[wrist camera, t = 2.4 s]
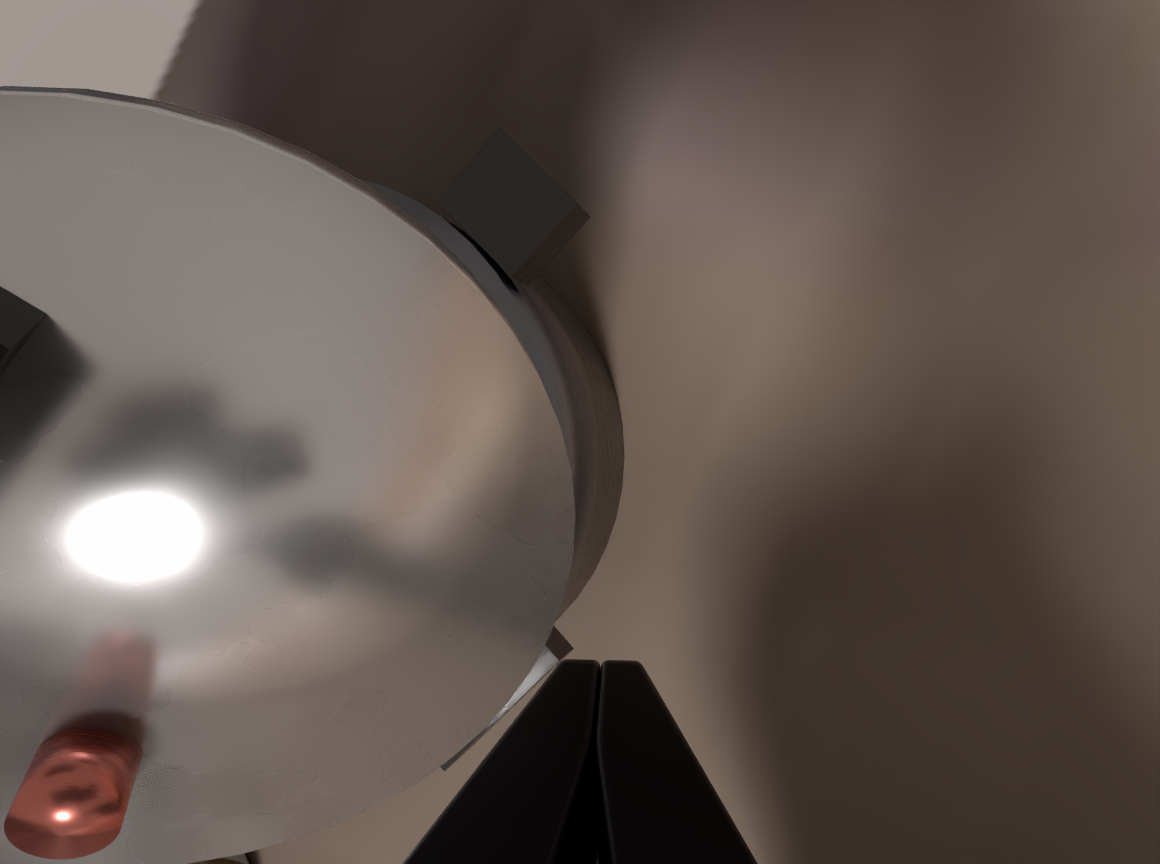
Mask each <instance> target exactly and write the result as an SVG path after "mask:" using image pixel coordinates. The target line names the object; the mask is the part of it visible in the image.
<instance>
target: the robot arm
mask: <svg viewBox="0 0 1160 864" xmlns="http://www.w3.org/2000/svg"><path fill="white" fill-rule="evenodd" d="M403 864H758V863H757V862H756V860H755V858H754V856H753V855H752V853H751V851H750V849H749V848H748V846H747V844H746V843H745V841H744V839H743V837H742V836H741V834H740V832H739V831H738V829H737V827H736V825H735V824H734V822H733V820H732V818H731V817H730V815H729V813H728V812H727V810H726V808H725V806H724V805H723V803H722V801H721V799H720V798H719V796H718V794H717V793H716V791H715V789H714V787H713V786H712V784H711V782H710V781H709V779H708V777H707V775H706V774H705V772H704V770H703V768H702V767H701V765H700V763H699V762H698V760H697V758H696V756H695V755H694V753H693V751H692V750H691V748H690V746H689V744H688V743H687V741H686V739H685V737H684V736H683V734H682V732H681V731H680V729H679V727H678V725H677V724H676V722H675V720H674V718H673V717H672V715H671V713H670V712H669V710H668V708H667V706H666V705H665V703H664V701H663V700H662V698H661V696H660V694H659V693H658V691H657V689H656V687H655V686H654V684H653V682H652V681H651V679H650V677H649V675H648V674H647V672H646V670H645V669H644V667H643V666H642V664H641V663H640V662H638V661H624V660H607V661H605V662H603V664H602V665H601V667H600V664H599V662H597V661H596V660H575V659H566V660H563V661H561V662H560V663H559V664H558V665H557V666H556V668H555V669H554V670H553V672H552V673H551V674H550V675H549V677H548V678H547V679H546V681H545V682H544V683H543V684H542V686H541V687H540V688H539V689H538V691H537V692H536V693H535V695H534V696H533V697H532V698H531V700H530V701H529V702H528V704H527V705H526V706H525V707H524V709H523V710H522V711H521V713H520V714H519V715H518V716H517V718H516V719H515V720H514V721H513V723H512V724H511V725H510V727H509V728H508V729H507V730H506V732H505V733H504V734H503V736H502V737H501V738H500V739H499V741H498V742H497V743H496V745H495V746H494V747H493V748H492V750H491V751H490V752H489V753H488V755H487V756H486V757H485V759H484V760H483V761H482V762H481V764H480V765H479V766H478V768H477V769H476V770H475V771H474V773H473V774H472V775H471V777H470V778H469V779H468V780H467V782H466V783H465V784H464V785H463V787H462V788H461V789H460V791H459V792H458V793H457V794H456V796H455V797H454V798H453V800H452V801H451V802H450V803H449V805H448V806H447V807H446V809H445V810H444V811H443V812H442V814H441V815H440V816H439V817H438V819H437V820H436V821H435V823H434V824H433V825H432V826H431V828H430V829H429V830H428V832H427V833H426V834H425V835H424V837H423V838H422V839H421V841H420V842H419V843H418V844H417V846H416V847H415V848H414V849H413V851H412V852H411V853H410V855H409V856H408V857H407V858H406V860H405V861H404V862H403Z"/></svg>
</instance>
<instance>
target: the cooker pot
mask: <svg viewBox="0 0 1160 864" xmlns="http://www.w3.org/2000/svg"><path fill="white" fill-rule="evenodd" d="M358 179H359V178H358ZM359 180H361V181H363V182H365V183H367V184H368V185H370V186H372V187H373V188H374V189H376V190H377V191H378V192H380V193H381V194H382V195H384V196H385V197H387V198H388V199H389V200H391V201H392V202H393V203H395V204H396V205H397V206H399V207H400V208H401V209H403V210H404V211H405V212H407V213H408V214H410V215H411V216H412V217H414V218H415V219H416V220H418V221H419V222H420V223H422V224H423V225H424V226H425V227H426V228H427V229H428V230H429V231H431V232H432V233H433V234H434V235H435V236H436V237H437V238H438V239H439V240H440V241H441V242H442V243H443V244H444V245H445V246H446V247H447V248H448V249H449V250H450V251H451V252H453V253H454V254H455V255H456V256H457V257H458V258H459V259H460V260H461V261H462V262H463V263H464V264H465V265H466V266H467V267H468V268H469V269H470V271H471V272H472V273H473V274H474V276H475V277H476V278H477V279H478V281H479V282H480V283H481V284H482V286H483V287H484V288H485V289H486V290H487V292H488V293H489V294H490V295H491V297H492V298H493V299H494V300H495V302H496V303H497V304H498V305H499V307H500V308H501V309H502V311H503V312H504V314H505V316H506V317H507V319H508V321H509V322H510V324H511V325H512V327H513V329H514V330H515V332H516V334H517V335H518V337H519V339H520V340H521V342H522V344H523V345H524V347H525V349H526V350H527V352H528V354H529V356H530V358H531V360H532V362H533V364H534V366H535V368H536V370H537V373H538V375H539V377H540V379H541V381H542V384H543V386H544V388H545V391H546V393H547V395H548V398H549V400H550V403H551V405H552V407H553V410H554V412H555V415H556V417H557V419H558V422H559V424H560V427H561V431H562V435H563V439H564V443H565V447H566V451H567V455H568V459H569V463H570V467H571V471H572V482H573V493H574V504H575V515H576V516H575V532H574V548H573V559H572V564H571V568H570V573H569V578H568V582H567V587H566V592H565V596H564V599H563V602H562V605H561V607H560V610H559V613H558V615H557V618H556V620H557V619H558V618H559V617H560V616H561V615H562V614H563V613H564V612H565V611H566V609H567V608H568V607H569V606H570V605H571V604H572V603H573V602H574V600H575V599H576V598H577V597H578V595H579V594H580V592H581V591H582V589H583V588H584V586H585V585H586V583H587V582H588V580H589V579H590V578H591V576H592V575H593V573H594V571H595V569H596V567H597V565H598V563H599V561H600V559H601V557H602V555H603V553H604V551H605V549H606V546H607V543H608V541H609V538H610V535H611V532H612V529H613V526H614V523H615V520H616V516H617V511H618V506H619V501H620V496H621V491H622V482H623V467H624V445H623V429H622V422H621V417H620V411H619V406H618V401H617V396H616V393H615V390H614V387H613V384H612V381H611V378H610V375H609V371H608V368H607V366H606V364H605V362H604V360H603V358H602V356H601V354H600V351H599V349H598V347H597V345H596V343H595V341H594V339H593V338H592V336H591V335H590V333H589V332H588V330H587V329H586V327H585V326H584V324H583V323H582V321H581V320H580V318H579V317H578V315H577V314H576V313H575V312H574V311H573V310H572V308H571V307H570V306H569V305H568V304H567V303H566V302H565V300H564V299H563V298H562V297H561V296H560V295H559V294H558V293H557V292H556V291H555V290H554V289H552V288H551V287H550V286H549V285H548V284H547V283H546V282H544V281H543V280H542V279H541V278H540V277H539V276H538V275H539V273H540V272H541V271H542V270H543V269H544V268H545V267H546V266H547V265H548V263H549V262H550V261H551V260H552V259H553V258H554V257H555V256H556V254H557V253H558V252H559V251H560V250H561V249H562V248H563V247H564V246H565V244H566V243H567V242H568V241H569V240H570V239H571V238H572V237H573V236H574V234H575V233H576V232H577V231H578V230H579V229H580V228H581V227H582V226H583V224H584V223H585V222H586V221H587V220H588V219H589V218H590V216H589V215H588V214H587V213H586V212H585V211H584V210H583V209H582V208H581V207H580V206H579V205H578V204H577V203H576V202H575V201H574V200H573V199H572V198H571V197H570V196H569V195H568V194H567V193H566V192H565V191H563V190H562V189H561V188H560V187H559V186H558V185H557V184H556V183H555V182H554V181H553V180H552V179H551V178H550V177H549V176H548V175H547V174H546V173H545V172H544V171H543V170H542V169H541V168H539V167H538V166H537V165H536V164H535V163H534V162H533V161H532V160H531V159H530V158H529V157H528V156H527V155H526V154H525V153H524V152H523V151H522V150H521V149H520V148H519V147H518V146H517V145H515V144H514V143H513V142H512V141H511V140H510V139H509V138H508V137H507V136H506V135H505V134H504V133H503V132H502V131H501V130H500V129H499V130H498V131H497V132H496V133H495V134H494V136H493V137H492V138H491V139H490V140H489V141H488V143H487V144H486V145H485V146H484V147H483V149H482V150H481V151H480V152H479V153H478V154H477V156H476V157H475V158H474V159H473V160H472V162H471V163H470V164H469V165H468V166H467V168H466V169H465V170H464V171H463V172H462V173H461V175H460V176H459V177H458V178H457V179H456V181H455V182H454V183H453V184H452V185H451V186H450V188H449V189H448V190H447V191H446V192H445V194H444V195H443V196H442V197H441V198H440V200H439V201H438V203H439V204H440V205H441V206H442V207H443V208H444V209H445V210H446V212H447V213H448V214H449V215H450V216H451V217H452V218H453V219H454V220H455V221H456V222H457V223H458V224H459V225H460V226H461V227H462V228H463V229H464V230H463V229H462V228H460V227H458V226H457V225H455V224H453V223H452V222H450V221H448V220H447V219H445V218H444V217H442V216H440V215H439V214H437V213H435V212H434V211H432V210H430V209H429V208H427V207H426V206H424V205H422V204H421V203H419V202H417V201H416V200H414V199H412V198H410V197H408V196H406V195H403V194H401V193H399V192H397V191H395V190H392V189H390V188H388V187H386V186H384V185H381V184H377V183H374V182H370V181H366V180H363V179H359ZM573 649H574V648H573V647H572V646H571V645H570V644H569V643H568V641H567V640H566V639H565V638H564V637H563V636H562V635H561V633H560V632H559V631H558V630H557V629H556V628H555V627H554V626H553V629H552V631H551V634H550V636H549V638H548V640H547V642H546V644H545V646H544V647H543V649H542V651H541V653H540V655H539V657H538V658H537V660H536V662H535V664H534V666H533V668H532V669H531V671H530V673H529V674H528V675H527V677H526V678H525V679H524V681H523V682H522V684H521V685H520V686H519V688H518V689H517V691H516V692H515V693H514V695H513V696H512V697H511V699H510V700H509V702H508V703H507V704H506V705H505V706H504V707H503V709H502V710H501V711H500V712H499V713H498V714H497V715H496V716H495V717H494V718H493V719H492V720H491V721H490V723H489V724H488V725H487V726H486V727H485V728H484V729H483V730H482V731H481V732H480V733H479V734H478V735H477V736H476V737H475V738H474V739H473V740H471V741H470V742H469V743H468V744H467V745H466V746H464V747H463V748H462V749H461V750H460V751H459V752H457V753H456V754H455V755H454V756H453V757H452V758H451V759H449V760H448V761H447V762H446V763H444V764H443V765H441V768H442V769H443V770H444V771H445V770H446V769H447V768H449V767H450V766H451V765H452V764H453V763H454V762H455V761H456V760H458V759H459V758H460V757H461V756H462V755H463V754H464V753H465V752H466V751H467V750H468V749H470V748H471V747H472V746H473V745H474V744H475V743H476V742H477V741H478V740H479V739H480V738H481V737H482V736H483V735H484V734H485V733H486V732H487V731H488V730H489V729H490V728H491V727H492V726H493V725H494V724H496V723H497V722H498V721H499V720H500V719H501V718H502V717H503V716H504V715H505V714H506V713H507V712H508V711H509V710H510V709H511V708H512V707H513V706H514V705H515V704H516V703H517V702H518V701H519V700H521V699H522V698H523V697H524V696H525V695H526V694H527V693H528V692H529V691H530V690H531V689H532V688H533V687H534V686H535V685H536V684H537V683H538V682H539V681H540V680H541V679H542V678H543V677H544V676H546V675H547V674H548V673H549V672H550V671H551V670H552V669H553V668H554V667H555V666H556V665H557V664H558V663H559V662H560V661H561V660H562V659H563V658H564V657H565V656H566V655H567V654H568V653H569V652H570V651H572V650H573Z"/></svg>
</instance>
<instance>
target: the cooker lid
mask: <svg viewBox="0 0 1160 864" xmlns="http://www.w3.org/2000/svg"><path fill="white" fill-rule="evenodd" d="M575 516H576V515H575V504H574V493H573V482H572V471H571V467H570V463H569V459H568V455H567V451H566V447H565V443H564V439H563V435H562V431H561V427H560V424H559V422H558V419H557V417H556V415H555V412H554V410H553V407H552V405H551V403H550V400H549V398H548V395H547V393H546V391H545V388H544V386H543V384H542V381H541V379H540V377H539V375H538V373H537V370H536V368H535V366H534V364H533V362H532V360H531V358H530V356H529V354H528V352H527V350H526V349H525V347H524V345H523V344H522V342H521V340H520V339H519V337H518V335H517V334H516V332H515V330H514V329H513V327H512V325H511V324H510V322H509V321H508V319H507V317H506V316H505V314H504V312H503V311H502V309H501V308H500V307H499V305H498V304H497V303H496V302H495V300H494V299H493V298H492V297H491V295H490V294H489V293H488V292H487V290H486V289H485V288H484V287H483V286H482V284H481V283H480V282H479V281H478V279H477V278H476V277H475V276H474V274H473V273H472V272H471V271H470V269H469V268H468V267H467V266H466V265H465V264H464V263H463V262H462V261H461V260H460V259H459V258H458V257H457V256H456V255H455V254H454V253H453V252H451V251H450V250H449V249H448V248H447V247H446V246H445V245H444V244H443V243H442V242H441V241H440V240H439V239H438V238H437V237H436V236H435V235H434V234H433V233H432V232H431V231H429V230H428V229H427V228H426V227H425V226H424V225H423V224H422V223H420V222H419V221H418V220H416V219H415V218H414V217H412V216H411V215H410V214H408V213H407V212H405V211H404V210H403V209H401V208H400V207H399V206H397V205H396V204H395V203H393V202H392V201H391V200H389V199H388V198H387V197H385V196H384V195H382V194H381V193H380V192H378V191H377V190H376V189H374V188H373V187H372V186H370V185H368V184H367V183H365V182H363V181H361V180H359V179H358V178H356V177H354V176H352V175H351V174H349V173H347V172H345V171H344V170H342V169H340V168H338V167H336V166H335V165H333V164H331V163H329V162H328V161H326V160H324V159H322V158H320V157H319V156H317V155H315V154H313V153H312V152H310V151H307V150H305V149H303V148H300V147H298V146H295V145H293V144H291V143H288V142H286V141H283V140H281V139H279V138H276V137H274V136H271V135H269V134H267V133H264V132H262V131H259V130H257V129H255V128H252V127H250V126H247V125H245V124H243V123H240V122H236V121H233V120H229V119H226V118H222V117H219V116H215V115H212V114H208V113H205V112H201V111H198V110H194V109H191V108H187V107H184V106H180V105H176V104H173V103H169V102H166V101H159V100H153V99H147V98H140V97H134V96H128V95H122V94H115V93H109V92H102V91H97V90H90V89H74V88H47V87H19V86H1V87H0V864H189V863H195V862H200V861H206V860H211V859H217V858H223V857H228V856H234V855H239V854H243V853H247V852H251V851H255V850H259V849H262V848H266V847H270V846H274V845H278V844H282V843H285V842H289V841H291V840H294V839H297V838H300V837H303V836H306V835H309V834H311V833H314V832H317V831H320V830H323V829H326V828H329V827H331V826H334V825H336V824H338V823H340V822H343V821H345V820H347V819H349V818H352V817H354V816H356V815H358V814H360V813H363V812H365V811H367V810H369V809H372V808H374V807H375V806H377V805H379V804H381V803H383V802H384V801H386V800H388V799H390V798H391V797H393V796H395V795H397V794H399V793H400V792H402V791H404V790H406V789H407V788H409V787H411V786H413V785H414V784H415V783H417V782H418V781H420V780H421V779H423V778H424V777H425V776H427V775H428V774H430V773H431V772H433V771H434V770H436V769H437V768H438V767H440V766H441V765H443V764H444V763H446V762H447V761H448V760H449V759H451V758H452V757H453V756H454V755H455V754H456V753H457V752H459V751H460V750H461V749H462V748H463V747H464V746H466V745H467V744H468V743H469V742H470V741H471V740H473V739H474V738H475V737H476V736H477V735H478V734H479V733H480V732H481V731H482V730H483V729H484V728H485V727H486V726H487V725H488V724H489V723H490V721H491V720H492V719H493V718H494V717H495V716H496V715H497V714H498V713H499V712H500V711H501V710H502V709H503V707H504V706H505V705H506V704H507V703H508V702H509V700H510V699H511V697H512V696H513V695H514V693H515V692H516V691H517V689H518V688H519V686H520V685H521V684H522V682H523V681H524V679H525V678H526V677H527V675H528V674H529V673H530V671H531V669H532V668H533V666H534V664H535V662H536V660H537V658H538V657H539V655H540V653H541V651H542V649H543V647H544V646H545V644H546V642H547V640H548V638H549V636H550V634H551V631H552V629H553V626H554V623H555V621H556V618H557V615H558V613H559V610H560V607H561V605H562V602H563V599H564V596H565V592H566V587H567V582H568V578H569V573H570V568H571V564H572V559H573V548H574V532H575Z"/></svg>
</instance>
